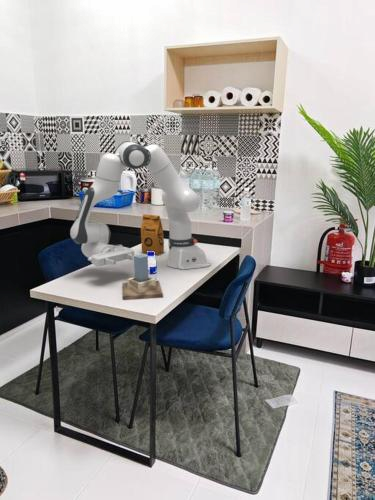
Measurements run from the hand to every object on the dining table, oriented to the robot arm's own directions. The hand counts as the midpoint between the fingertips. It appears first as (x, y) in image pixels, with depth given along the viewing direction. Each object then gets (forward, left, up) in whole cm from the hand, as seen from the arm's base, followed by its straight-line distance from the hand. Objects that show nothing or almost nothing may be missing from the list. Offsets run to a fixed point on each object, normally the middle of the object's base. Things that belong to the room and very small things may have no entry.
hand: (123, 260), depth 170 cm
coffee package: (-17, -49, -11) cm, 53 cm away
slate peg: (-7, +10, -9) cm, 15 cm away
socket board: (-7, +10, -11) cm, 16 cm away
